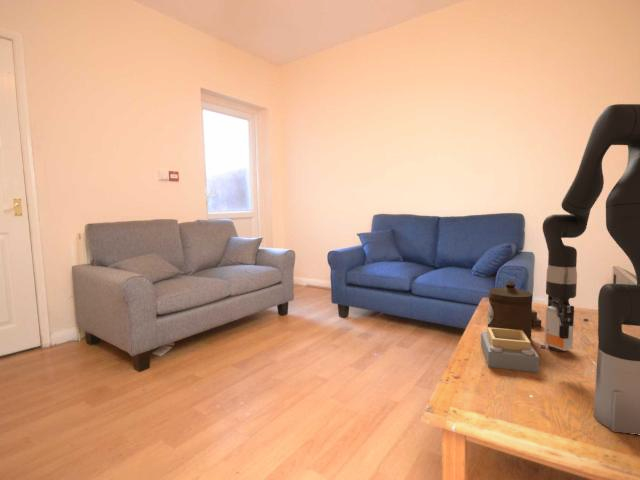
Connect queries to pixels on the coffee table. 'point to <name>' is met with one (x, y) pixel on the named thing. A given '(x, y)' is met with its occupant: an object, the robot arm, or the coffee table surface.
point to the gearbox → (509, 350)
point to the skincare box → (556, 331)
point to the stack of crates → (535, 320)
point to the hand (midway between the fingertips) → (558, 333)
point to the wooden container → (510, 309)
